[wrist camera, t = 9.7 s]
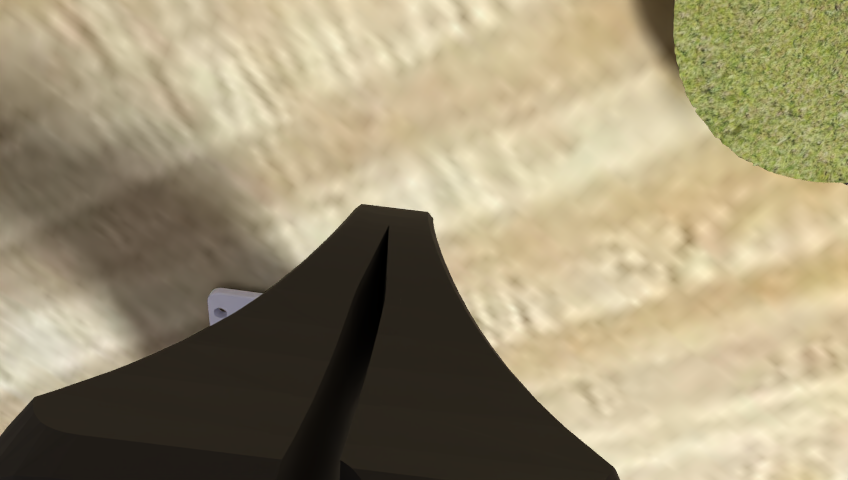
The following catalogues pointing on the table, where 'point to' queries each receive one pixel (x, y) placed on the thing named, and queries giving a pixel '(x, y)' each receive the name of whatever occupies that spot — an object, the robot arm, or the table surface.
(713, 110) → the green disc with hole
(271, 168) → the table surface
